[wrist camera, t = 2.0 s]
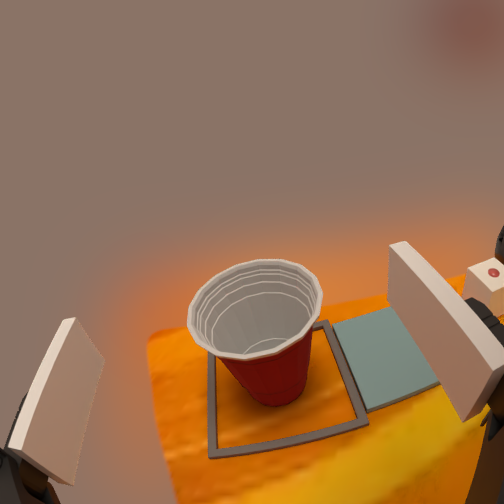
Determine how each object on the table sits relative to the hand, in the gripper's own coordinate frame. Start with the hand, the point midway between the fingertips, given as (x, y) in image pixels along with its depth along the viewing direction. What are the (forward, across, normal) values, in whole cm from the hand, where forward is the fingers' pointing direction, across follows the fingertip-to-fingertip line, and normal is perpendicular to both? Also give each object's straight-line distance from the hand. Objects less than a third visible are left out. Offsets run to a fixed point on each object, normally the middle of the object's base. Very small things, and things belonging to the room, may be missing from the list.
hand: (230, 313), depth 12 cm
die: (+11, +27, -19) cm, 35 cm away
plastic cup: (+10, 0, -19) cm, 21 cm away
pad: (+10, +14, -19) cm, 26 cm away
